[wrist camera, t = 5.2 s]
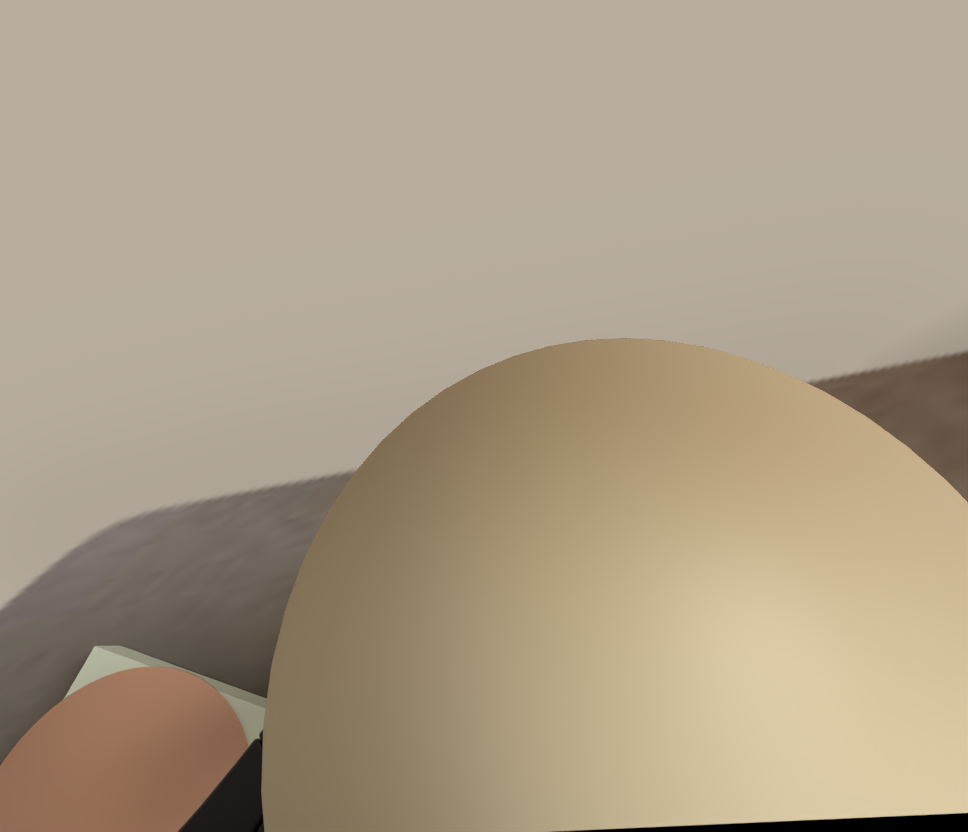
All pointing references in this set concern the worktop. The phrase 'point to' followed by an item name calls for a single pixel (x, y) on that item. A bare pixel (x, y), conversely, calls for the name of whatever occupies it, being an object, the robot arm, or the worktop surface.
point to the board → (127, 748)
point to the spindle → (627, 613)
